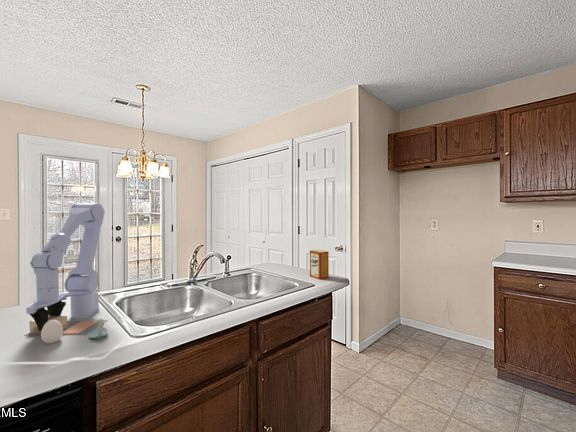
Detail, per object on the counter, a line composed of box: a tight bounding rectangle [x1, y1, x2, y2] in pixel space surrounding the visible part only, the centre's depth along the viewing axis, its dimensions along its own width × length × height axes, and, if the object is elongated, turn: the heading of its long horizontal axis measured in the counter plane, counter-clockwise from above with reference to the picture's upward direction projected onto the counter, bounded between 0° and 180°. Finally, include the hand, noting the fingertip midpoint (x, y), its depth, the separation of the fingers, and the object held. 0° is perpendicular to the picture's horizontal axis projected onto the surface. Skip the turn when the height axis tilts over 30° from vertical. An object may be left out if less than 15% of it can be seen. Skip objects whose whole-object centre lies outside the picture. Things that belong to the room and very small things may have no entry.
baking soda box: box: [309, 249, 330, 280], centre depth 173 cm, size 10×6×16 cm
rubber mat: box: [23, 319, 108, 337], centre depth 100 cm, size 12×20×1 cm, turn 91°
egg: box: [40, 320, 63, 345], centre depth 90 cm, size 5×5×7 cm
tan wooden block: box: [28, 315, 68, 333], centre depth 98 cm, size 9×4×4 cm, turn 91°
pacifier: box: [85, 318, 109, 342], centre depth 93 cm, size 7×6×6 cm
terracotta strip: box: [63, 320, 99, 334], centre depth 100 cm, size 10×6×1 cm, turn 1°
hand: (48, 327), depth 98 cm, fingers closed on tan wooden block, 4 cm apart
